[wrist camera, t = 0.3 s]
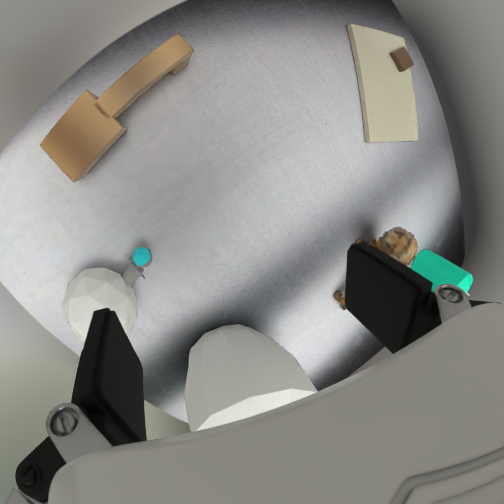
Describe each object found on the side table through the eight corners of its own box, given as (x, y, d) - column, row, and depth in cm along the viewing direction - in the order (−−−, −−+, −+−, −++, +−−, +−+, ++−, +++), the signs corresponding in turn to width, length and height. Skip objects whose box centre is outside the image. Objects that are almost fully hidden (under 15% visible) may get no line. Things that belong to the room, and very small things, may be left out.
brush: (167, 41, 19) (167, 23, 15) (198, 73, 22) (204, 60, 18) (57, 143, 20) (39, 145, 16) (88, 175, 22) (73, 182, 18)
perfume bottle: (42, 300, 21) (101, 208, 22) (95, 313, 29) (151, 239, 29) (65, 361, 18) (137, 260, 19) (124, 363, 26) (190, 285, 26)
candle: (428, 242, 41) (479, 270, 30) (432, 265, 44) (477, 294, 33) (408, 263, 41) (460, 296, 30) (412, 285, 44) (458, 318, 33)
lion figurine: (356, 210, 33) (405, 234, 25) (383, 215, 35) (430, 237, 27) (328, 308, 38) (362, 346, 30) (354, 306, 40) (390, 339, 32)
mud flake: (399, 47, 24) (404, 46, 24) (409, 65, 26) (414, 64, 25) (388, 53, 24) (393, 52, 24) (399, 72, 26) (404, 71, 25)
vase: (193, 389, 37) (239, 541, 15) (159, 320, 31) (193, 538, 9) (281, 361, 40) (362, 495, 18) (270, 287, 34) (399, 461, 12)
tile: (346, 25, 23) (350, 23, 22) (399, 38, 25) (403, 37, 24) (364, 142, 30) (370, 142, 29) (413, 139, 32) (418, 140, 31)
